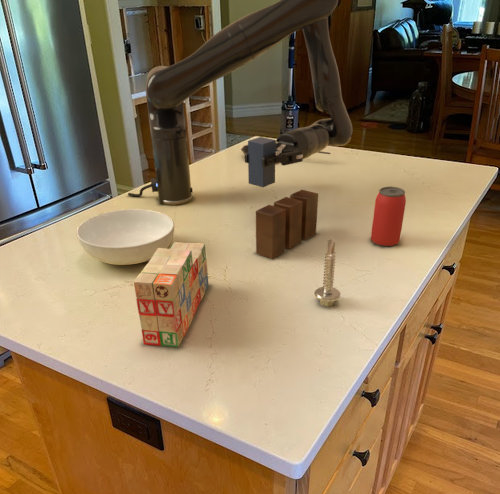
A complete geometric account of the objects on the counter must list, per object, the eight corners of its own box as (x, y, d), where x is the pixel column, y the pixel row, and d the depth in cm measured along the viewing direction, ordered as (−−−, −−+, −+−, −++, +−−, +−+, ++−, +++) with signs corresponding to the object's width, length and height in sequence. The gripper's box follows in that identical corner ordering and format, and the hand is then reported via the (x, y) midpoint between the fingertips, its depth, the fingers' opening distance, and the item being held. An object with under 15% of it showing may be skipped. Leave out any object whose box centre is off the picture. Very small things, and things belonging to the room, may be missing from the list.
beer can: (402, 238, 120) (410, 187, 113) (396, 249, 115) (404, 197, 109) (374, 233, 123) (380, 184, 116) (367, 244, 118) (373, 193, 111)
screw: (344, 306, 96) (321, 312, 94) (331, 294, 100) (309, 299, 98) (351, 241, 88) (326, 247, 87) (336, 231, 92) (312, 236, 91)
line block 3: (300, 229, 125) (302, 189, 120) (316, 234, 123) (318, 193, 117) (289, 235, 123) (290, 194, 117) (304, 240, 120) (306, 199, 114)
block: (260, 178, 127) (260, 136, 121) (275, 182, 125) (275, 139, 119) (248, 183, 124) (247, 140, 118) (263, 187, 122) (263, 144, 116)
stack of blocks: (179, 283, 104) (173, 226, 97) (209, 286, 103) (205, 228, 96) (143, 344, 87) (132, 280, 80) (178, 348, 86) (171, 283, 79)
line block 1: (268, 246, 118) (269, 204, 112) (284, 251, 115) (285, 209, 110) (256, 253, 115) (255, 210, 109) (272, 259, 112) (272, 215, 107)
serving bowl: (95, 285, 104) (88, 254, 100) (73, 247, 119) (67, 219, 115) (191, 262, 112) (188, 233, 108) (159, 229, 127) (155, 202, 123)
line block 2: (285, 237, 122) (286, 196, 116) (301, 242, 119) (302, 201, 113) (273, 244, 119) (273, 202, 113) (289, 249, 116) (290, 207, 111)
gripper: (275, 125, 131) (230, 139, 121) (322, 133, 124) (279, 149, 113) (274, 155, 136) (231, 170, 125) (320, 165, 128) (278, 182, 117)
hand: (254, 160), depth 119 cm, fingers closed on block, 4 cm apart
